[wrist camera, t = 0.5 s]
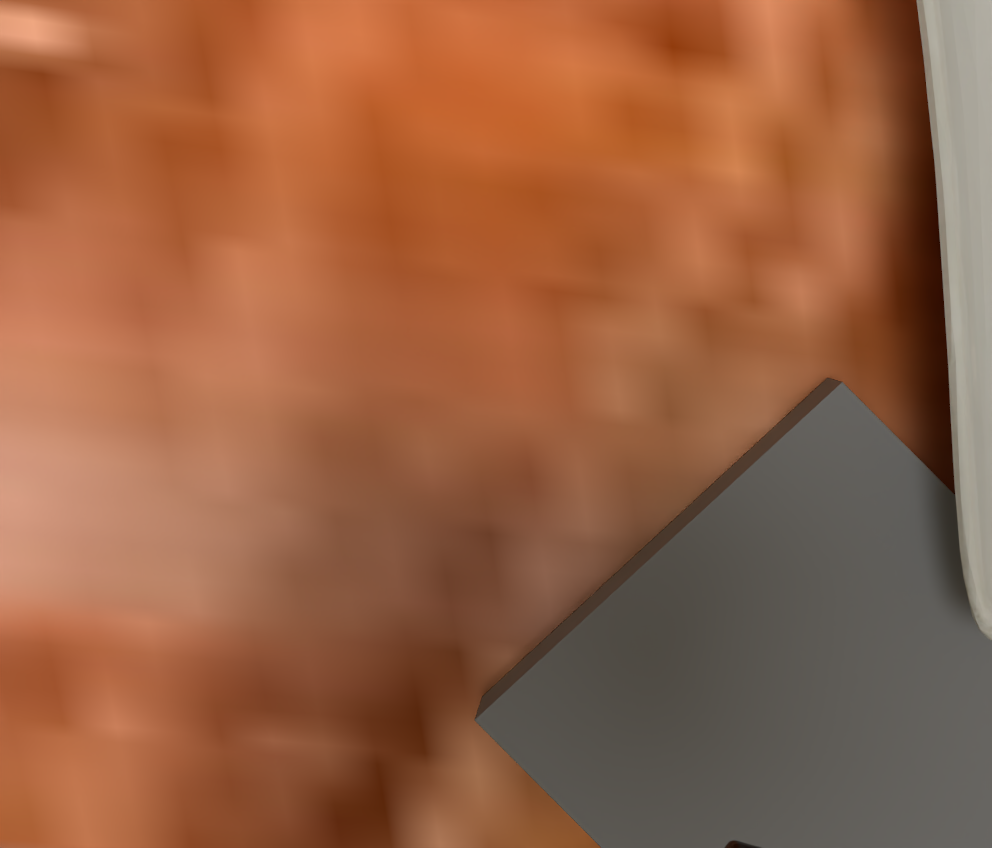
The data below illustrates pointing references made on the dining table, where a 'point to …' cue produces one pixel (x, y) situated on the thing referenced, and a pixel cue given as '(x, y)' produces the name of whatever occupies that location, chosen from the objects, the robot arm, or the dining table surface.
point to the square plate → (966, 262)
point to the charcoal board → (774, 662)
